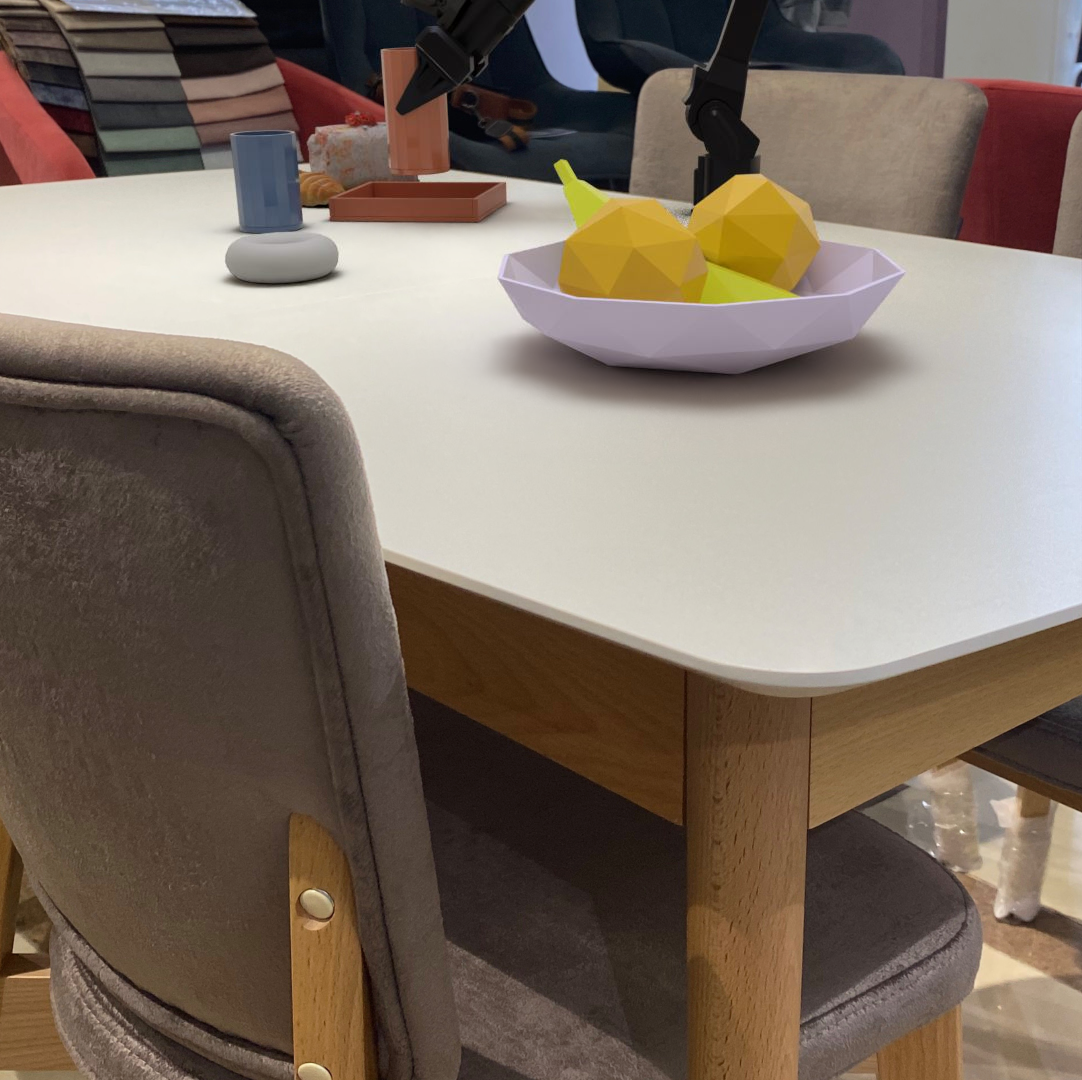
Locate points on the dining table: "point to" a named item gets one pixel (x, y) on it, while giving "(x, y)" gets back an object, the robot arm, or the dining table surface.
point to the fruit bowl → (696, 280)
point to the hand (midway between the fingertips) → (403, 110)
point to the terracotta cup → (413, 121)
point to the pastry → (317, 188)
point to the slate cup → (267, 181)
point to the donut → (282, 257)
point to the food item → (353, 152)
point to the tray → (418, 201)
